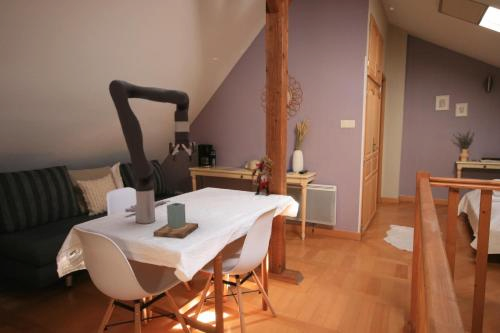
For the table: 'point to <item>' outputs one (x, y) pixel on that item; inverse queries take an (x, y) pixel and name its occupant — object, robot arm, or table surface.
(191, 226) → the peg board
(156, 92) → the robot arm
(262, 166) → the figurine
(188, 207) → the table surface
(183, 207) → the collar
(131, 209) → the adjustable rod
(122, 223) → the table surface
